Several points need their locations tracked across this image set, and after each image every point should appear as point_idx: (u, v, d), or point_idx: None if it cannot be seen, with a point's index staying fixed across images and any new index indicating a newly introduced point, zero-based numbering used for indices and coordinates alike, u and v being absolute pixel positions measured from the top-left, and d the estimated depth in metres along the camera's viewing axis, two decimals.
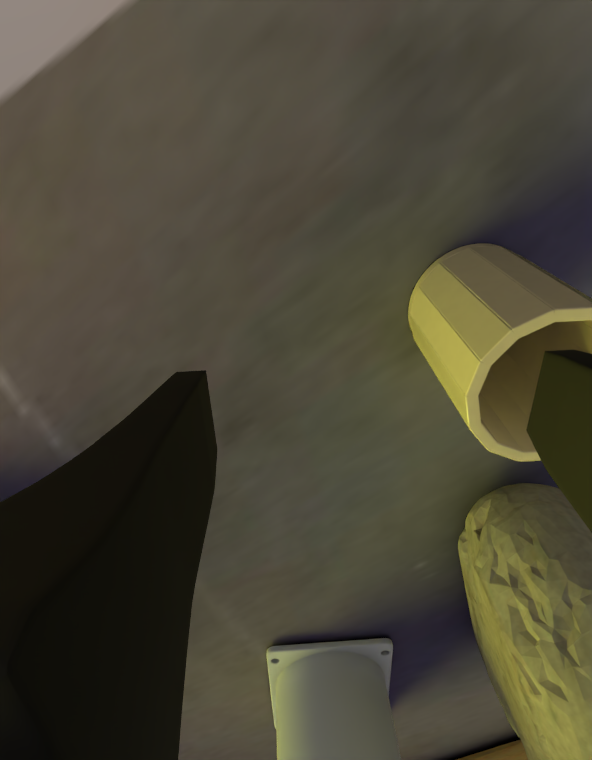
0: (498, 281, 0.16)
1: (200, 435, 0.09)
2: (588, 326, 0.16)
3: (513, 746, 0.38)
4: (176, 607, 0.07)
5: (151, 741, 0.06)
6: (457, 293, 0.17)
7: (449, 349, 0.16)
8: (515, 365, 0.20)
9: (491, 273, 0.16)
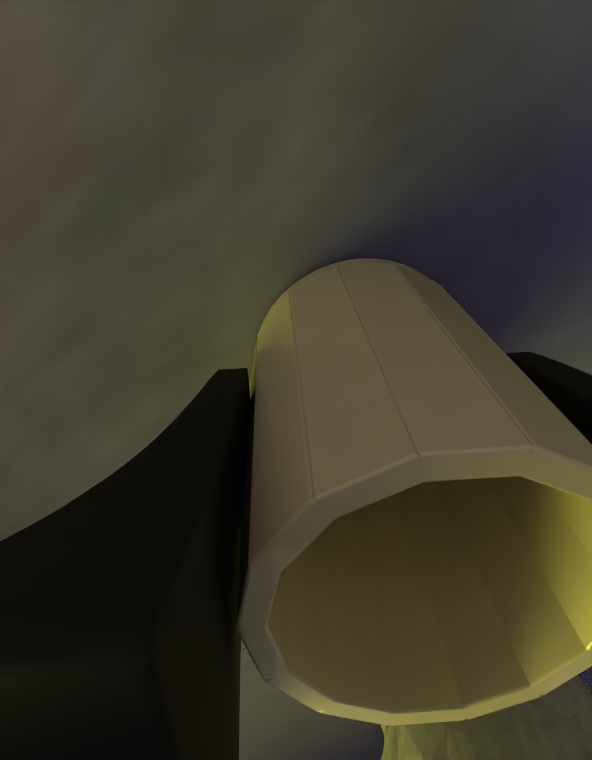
0: (346, 345, 0.07)
1: (246, 432, 0.09)
2: None
3: None
4: (233, 603, 0.07)
5: (224, 735, 0.06)
6: (283, 361, 0.08)
7: (247, 486, 0.08)
8: None
9: (343, 325, 0.08)
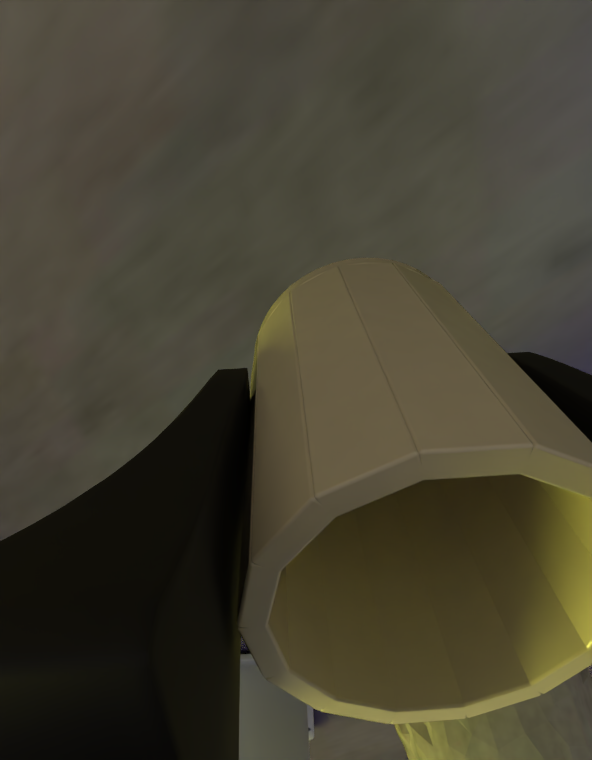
0: (347, 344, 0.07)
1: (246, 432, 0.09)
2: None
3: None
4: (233, 603, 0.07)
5: (224, 736, 0.06)
6: (283, 360, 0.08)
7: (247, 485, 0.08)
8: None
9: (343, 324, 0.08)
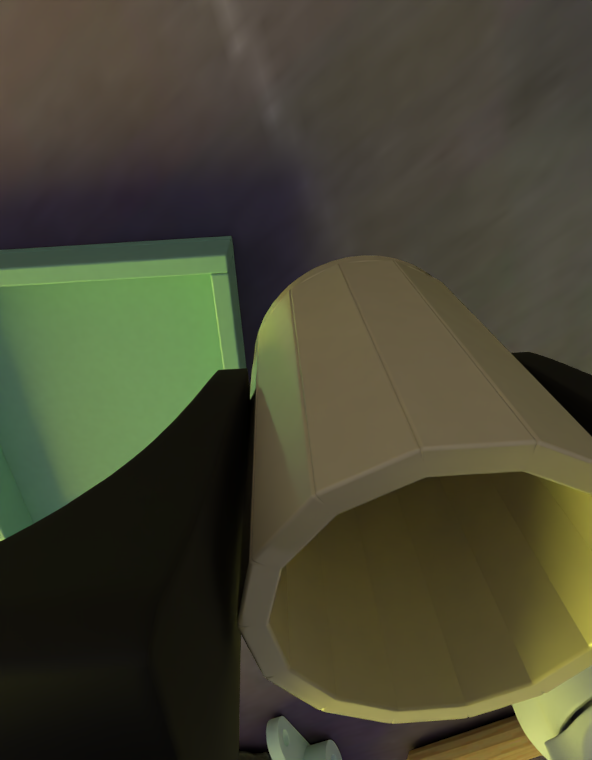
0: (348, 341, 0.07)
1: (246, 432, 0.09)
2: None
3: None
4: (233, 603, 0.07)
5: (224, 735, 0.06)
6: (283, 357, 0.08)
7: (247, 483, 0.08)
8: None
9: (345, 322, 0.08)
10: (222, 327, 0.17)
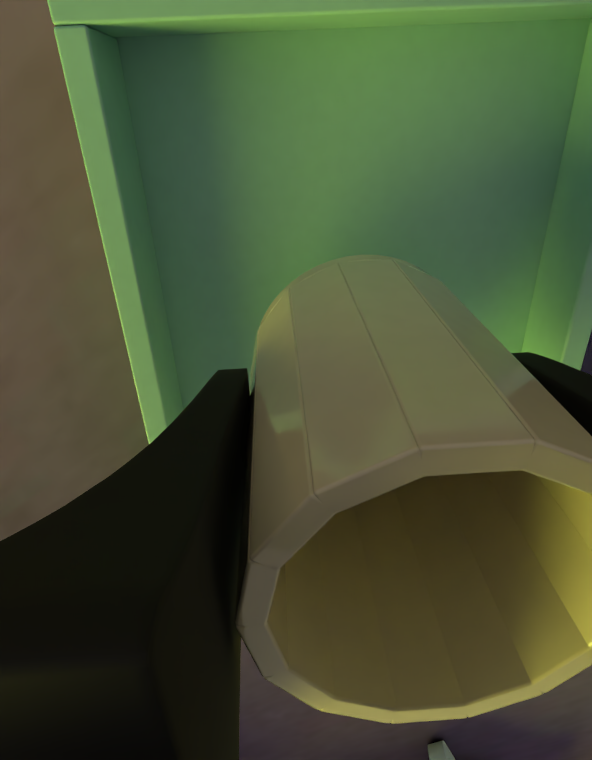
0: (346, 340, 0.07)
1: (246, 432, 0.09)
2: None
3: None
4: (234, 603, 0.07)
5: (224, 736, 0.06)
6: (283, 357, 0.08)
7: (246, 482, 0.08)
8: None
9: (344, 320, 0.08)
10: None
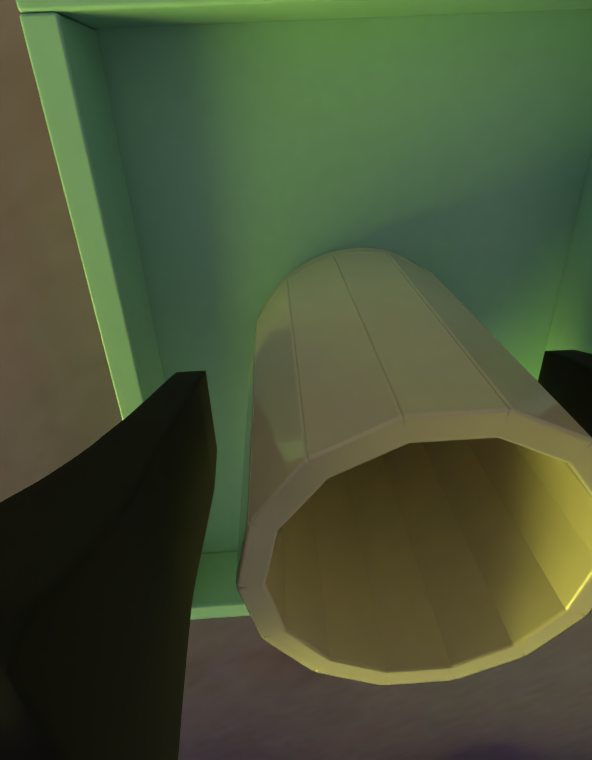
0: (340, 325, 0.08)
1: (200, 435, 0.09)
2: None
3: None
4: (176, 607, 0.07)
5: (151, 741, 0.06)
6: (280, 342, 0.09)
7: (246, 459, 0.08)
8: (420, 451, 0.12)
9: (337, 307, 0.08)
10: None
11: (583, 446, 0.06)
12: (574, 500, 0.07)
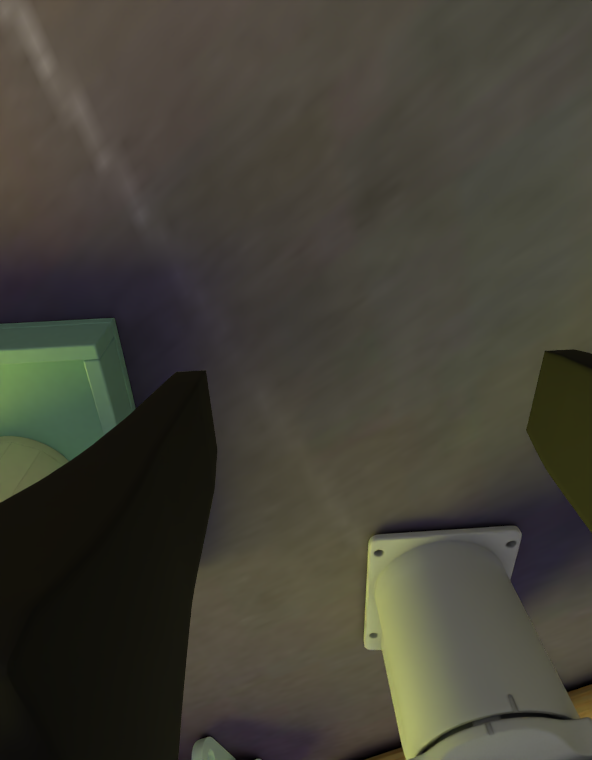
0: None
1: (200, 435, 0.09)
2: None
3: None
4: (176, 607, 0.07)
5: (151, 741, 0.06)
6: None
7: None
8: None
9: None
10: (99, 404, 0.18)
11: None
12: None
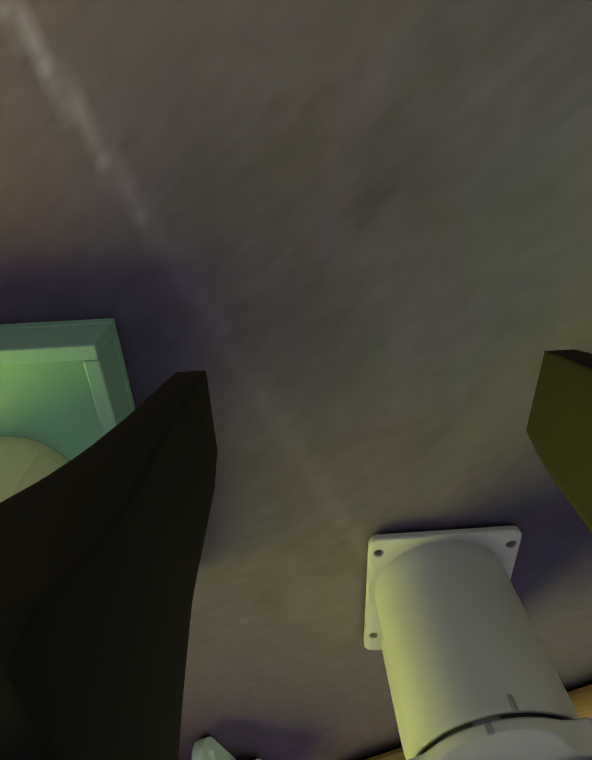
0: None
1: (200, 435, 0.09)
2: None
3: None
4: (176, 607, 0.07)
5: (151, 741, 0.06)
6: None
7: None
8: None
9: None
10: (99, 404, 0.18)
11: None
12: None
